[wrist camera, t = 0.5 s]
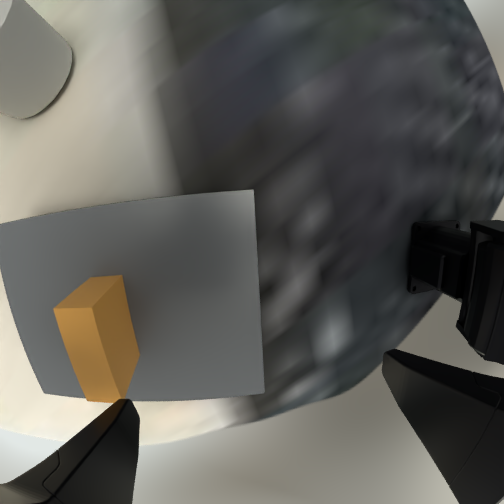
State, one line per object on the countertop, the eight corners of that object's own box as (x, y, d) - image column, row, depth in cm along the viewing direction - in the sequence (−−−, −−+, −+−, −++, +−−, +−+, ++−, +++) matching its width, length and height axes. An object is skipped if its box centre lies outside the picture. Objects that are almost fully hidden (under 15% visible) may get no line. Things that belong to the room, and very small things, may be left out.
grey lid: (250, 189, 15) (272, 190, 10) (262, 383, 18) (279, 442, 13) (1, 223, 13) (-53, 238, 8) (48, 386, 16) (20, 430, 11)
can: (75, 103, 16) (-23, 48, 5) (7, 132, 15) (-92, 116, 4) (79, 29, 15) (16, -46, 3) (13, 61, 14) (-64, 19, 2)
